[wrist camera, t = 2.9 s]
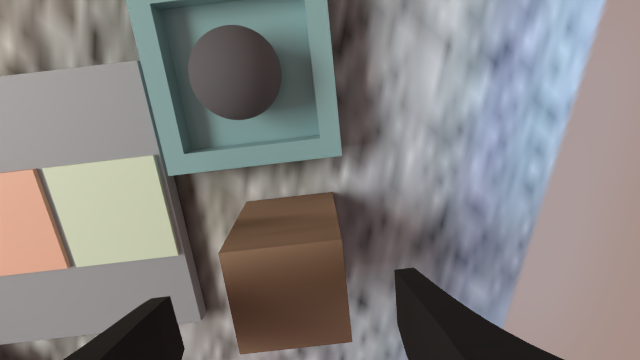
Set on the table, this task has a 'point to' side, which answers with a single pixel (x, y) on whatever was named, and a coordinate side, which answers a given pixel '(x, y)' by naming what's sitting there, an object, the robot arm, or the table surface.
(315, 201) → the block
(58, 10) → the table surface
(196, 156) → the dish
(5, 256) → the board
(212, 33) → the ball
